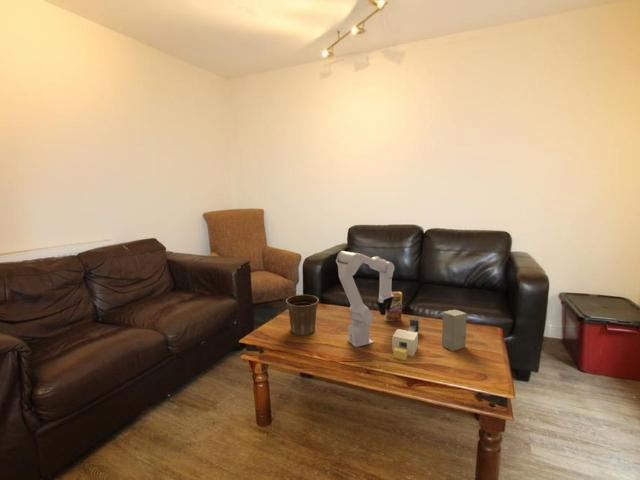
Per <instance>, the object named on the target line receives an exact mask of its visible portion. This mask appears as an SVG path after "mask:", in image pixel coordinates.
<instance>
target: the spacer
mask: <svg viewBox="0 0 640 480" xmlns="http://www.w3.org/2000/svg"><path fill="white" fill-rule="evenodd" d="M407 352H408V349H404V348H399V347H395V349H394V352H393V359H394V358H395V359H399V360H403V361H406V360H407V358H408V355H407Z"/></svg>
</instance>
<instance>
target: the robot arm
mask: <svg viewBox="0 0 640 480" xmlns="http://www.w3.org/2000/svg"><path fill="white" fill-rule="evenodd" d="M335 259H336V260H335V263H336V264H337V270H338V271H337V272H338V278H339V281H340V283H341V285H342V288H343V289H344V292H345V295H346V298H347V299H348V302H349V304H350V306H349V308H348V310H349V316H350V319H351V320H352V324H349V325H348V327H347V339H346V340H347V342H349V343H350V344H351V345H353V346H354V347H356V348H357V347H361V346H366V345H370V344H373V343H374V341H373V340H372V339H370V325H371V324H372V323H373V321H374V313H373V312H372V311H370V308H369V307H368V306H367V305H366V304H365V303H364V301H363V299H362V296H361V294H360V291H359V289H358V287H357V285H356V282H355V279H354V277H353V276H355V275H356V273H357V272H358V270H359V269H360V267H361V266H362V265H363V264H366V265H368V266H369V268H370V269H372V270H374V271H378V273H379V293H378V299H377V300H376V301H375V302H376V305H377V307H378V310H379V314H380V315H381V316H383V315H385V314H386V310H390V307H391V303H392V300H393V298H394V295H392V292H393V290H392V285H393V284H392V282H393V281H392V279H393V276H394V272H395V265H394V263H393V262H391V261H387V260H386V259H385V258H381V257H380V256H378V255H376V256H373V257H369V256H368V255H365V254H363V253H358V252H351V251H345V250H340V252H338V254H337V256H336V258H335Z"/></svg>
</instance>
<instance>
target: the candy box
mask: <svg viewBox="0 0 640 480" xmlns="http://www.w3.org/2000/svg"><path fill="white" fill-rule="evenodd" d="M392 295H394V298H393V300H392V303H391V307H390V310H386V314H385V315H382V316H383V318H382V319H383V320H384V321H385V322H394V321H396V322H397V321H402V313H403V312H402V305H403V293H402V291H392Z"/></svg>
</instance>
